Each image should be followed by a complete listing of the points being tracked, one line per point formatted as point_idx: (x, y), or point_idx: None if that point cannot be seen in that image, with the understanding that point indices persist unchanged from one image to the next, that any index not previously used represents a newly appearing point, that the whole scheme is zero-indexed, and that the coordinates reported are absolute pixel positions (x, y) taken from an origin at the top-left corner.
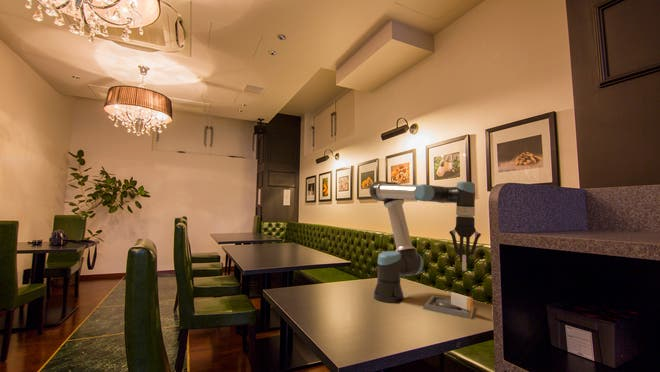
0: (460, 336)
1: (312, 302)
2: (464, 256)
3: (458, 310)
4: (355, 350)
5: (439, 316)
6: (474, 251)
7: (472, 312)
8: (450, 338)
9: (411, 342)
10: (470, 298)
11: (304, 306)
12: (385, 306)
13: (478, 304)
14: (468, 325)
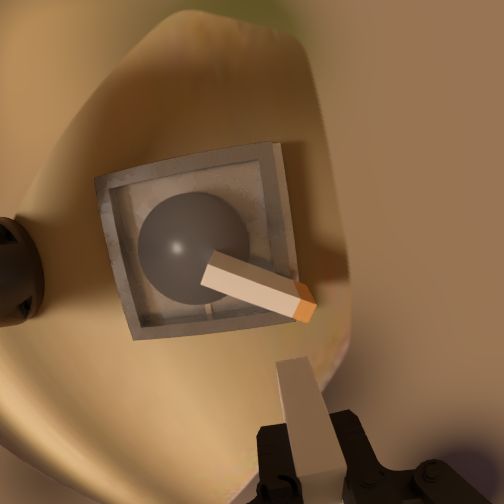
0: None
1: None
2: (323, 498)
3: (256, 317)
4: None
5: None
6: (459, 480)
7: (292, 230)
8: None
9: (224, 485)
10: (309, 317)
11: (6, 433)
12: (50, 353)
13: (273, 53)
14: (299, 346)
